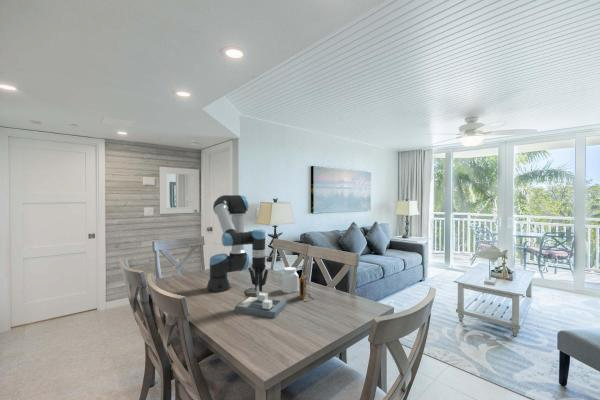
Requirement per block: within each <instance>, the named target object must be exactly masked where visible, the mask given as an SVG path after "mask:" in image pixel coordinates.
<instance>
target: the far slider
mask: <svg viewBox="0 0 600 400" xmlns="http://www.w3.org/2000/svg"><path fill="white" fill-rule="evenodd" d="M266 299H267V300H268V299H269V294H268V292H267V293H266V292H261V293H260V294H259V300H258V301H264V300H266Z"/></svg>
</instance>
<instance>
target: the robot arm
mask: <svg viewBox="0 0 600 400" xmlns="http://www.w3.org/2000/svg"><path fill="white" fill-rule="evenodd" d="M212 208H213V212H214V214H215V215H216V216H217V219H218V222H219V224H220V225H219V226H220V227H221V230H222V233H223V234H221V245H222V246H224V247H231V250H230V251H229V255H228V254H227V253H219V254H214V255H212V256H211V257H210V258H209V264H208V265H209V279H208V282H207V285H206V291H207V292H211V293H222V292H225V291H226V292H227V291H228V290H229V289H230V288H231V287H230V285H231V284H230V281H229V279H228V273H233V272H234V273H235V272H242V271H246V270H248V271H249V275H250V278H251V279H250V280H251V283H252V285H254V286H255V287H254V289H255V290H254V291H255V292H256V298H259V294H260V293H262V291H263V286H264V285H266V283H267V278H268V273H269V272H270V268H267V266H266V231H265V230H264V229H253V230H248V231H245V226H244V225H245V223H244V222H245V220H244V218H245V217H244V216H246V213H247V212H248V210H249V208H250V207H249V200H248V198H247V196H245V195H240V194H234V195H229V194H228V195H225V194H224V195H221V196H218V197H217V198H216V199H215V201H214V202H213V206H212ZM245 245H252V247H251V249H252V250H251V251H252V258H251V259H252V260H251V261H252V264H251V266H250V267H249V265H250V256H249V254H248V253H247V250H245Z"/></svg>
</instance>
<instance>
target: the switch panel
mask: <svg viewBox="0 0 600 400" xmlns="http://www.w3.org/2000/svg"><path fill="white" fill-rule="evenodd" d="M258 300H259V298H257V296H256V297H255V296H249V297H248V296H247V298H245V299H244V300H242V301H241V302H240V303H238V304H236V305H235V307H234V312H235V313H240V314H241V313H242V314H245V315H246V314H249V315H253V316H254V315H255V316H260V317H265V318H266V317H267V318H274V319H276V317H277V316H279V314H280V313H282V311H284V309H286V307H287V301H284V300H278V299H270V298H268V300H272V307H271V308H270V309H263V308H262V302H263V301H258Z"/></svg>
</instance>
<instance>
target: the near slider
mask: <svg viewBox="0 0 600 400" xmlns="http://www.w3.org/2000/svg"><path fill="white" fill-rule="evenodd" d="M272 300H273V299H271V300H267V299H266V300H264V301H263V302H262V308H263V309H270V308H271V307H272Z"/></svg>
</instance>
